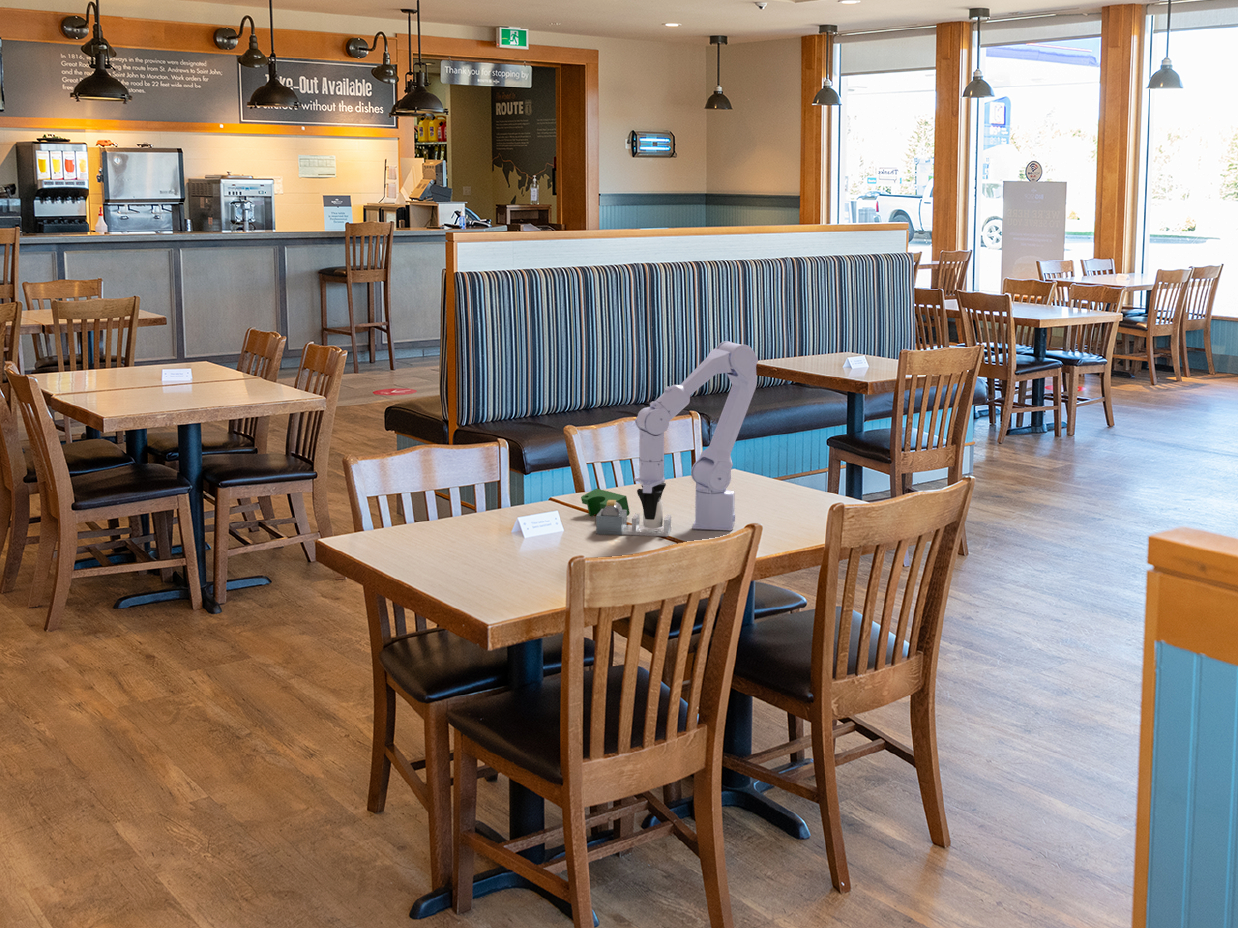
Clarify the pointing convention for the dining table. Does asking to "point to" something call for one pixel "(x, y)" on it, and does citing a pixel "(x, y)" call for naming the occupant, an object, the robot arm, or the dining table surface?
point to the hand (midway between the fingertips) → (651, 516)
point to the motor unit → (615, 523)
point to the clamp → (602, 500)
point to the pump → (658, 517)
